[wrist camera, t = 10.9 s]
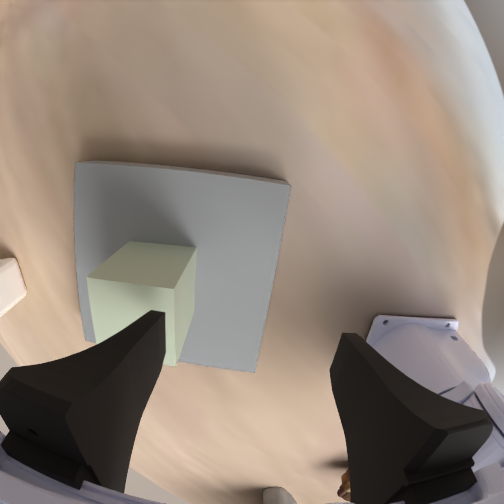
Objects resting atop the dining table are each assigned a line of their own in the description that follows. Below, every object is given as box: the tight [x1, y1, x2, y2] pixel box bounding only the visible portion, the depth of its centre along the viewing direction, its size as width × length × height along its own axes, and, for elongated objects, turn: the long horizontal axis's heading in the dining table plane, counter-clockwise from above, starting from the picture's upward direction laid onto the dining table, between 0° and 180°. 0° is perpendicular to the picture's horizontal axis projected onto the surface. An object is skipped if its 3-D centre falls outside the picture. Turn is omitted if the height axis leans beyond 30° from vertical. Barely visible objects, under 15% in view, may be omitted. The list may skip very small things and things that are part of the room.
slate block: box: [74, 160, 291, 373], centre depth 21 cm, size 14×14×3 cm
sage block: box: [86, 241, 197, 366], centre depth 17 cm, size 4×4×6 cm
